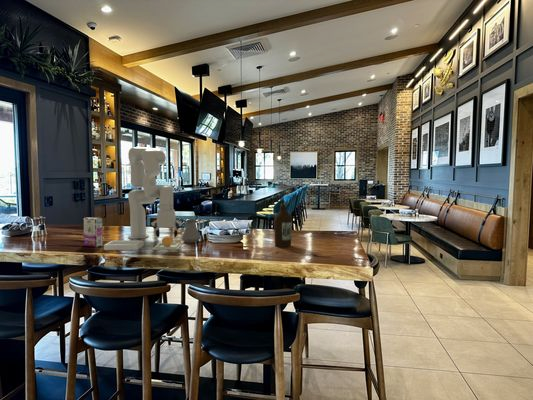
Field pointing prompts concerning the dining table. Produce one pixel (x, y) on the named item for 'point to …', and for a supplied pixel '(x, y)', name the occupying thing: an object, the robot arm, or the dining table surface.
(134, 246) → the shallow white tray
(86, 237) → the candy bar box
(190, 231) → the coffee pot
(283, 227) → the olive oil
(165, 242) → the ball
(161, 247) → the tray
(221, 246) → the dining table surface
